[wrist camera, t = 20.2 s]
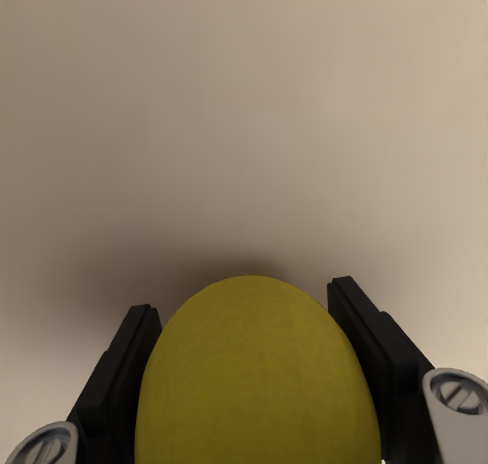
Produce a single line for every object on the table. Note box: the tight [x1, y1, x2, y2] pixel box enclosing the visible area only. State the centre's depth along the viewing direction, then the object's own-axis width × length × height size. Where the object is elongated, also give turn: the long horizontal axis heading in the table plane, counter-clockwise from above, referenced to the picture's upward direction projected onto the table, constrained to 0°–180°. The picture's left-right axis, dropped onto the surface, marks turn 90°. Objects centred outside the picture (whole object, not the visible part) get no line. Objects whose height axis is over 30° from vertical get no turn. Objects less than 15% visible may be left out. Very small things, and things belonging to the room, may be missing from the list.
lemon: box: [134, 275, 382, 464], centre depth 8 cm, size 6×6×8 cm
